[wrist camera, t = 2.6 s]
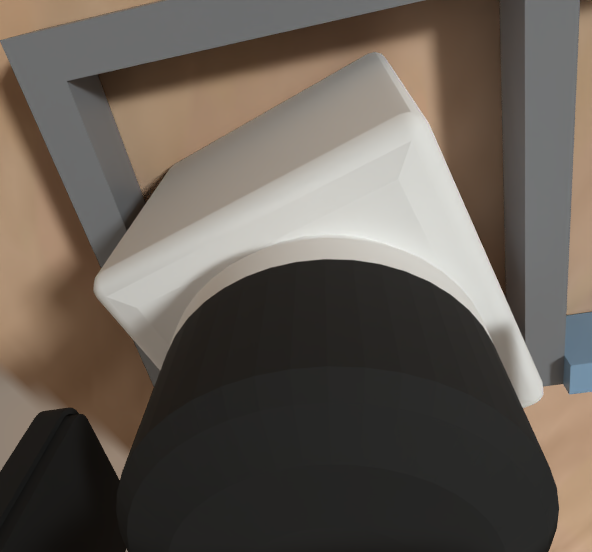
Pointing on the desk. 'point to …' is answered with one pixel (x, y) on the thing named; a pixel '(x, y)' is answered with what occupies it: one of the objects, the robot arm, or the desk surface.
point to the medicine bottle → (325, 344)
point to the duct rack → (298, 14)
